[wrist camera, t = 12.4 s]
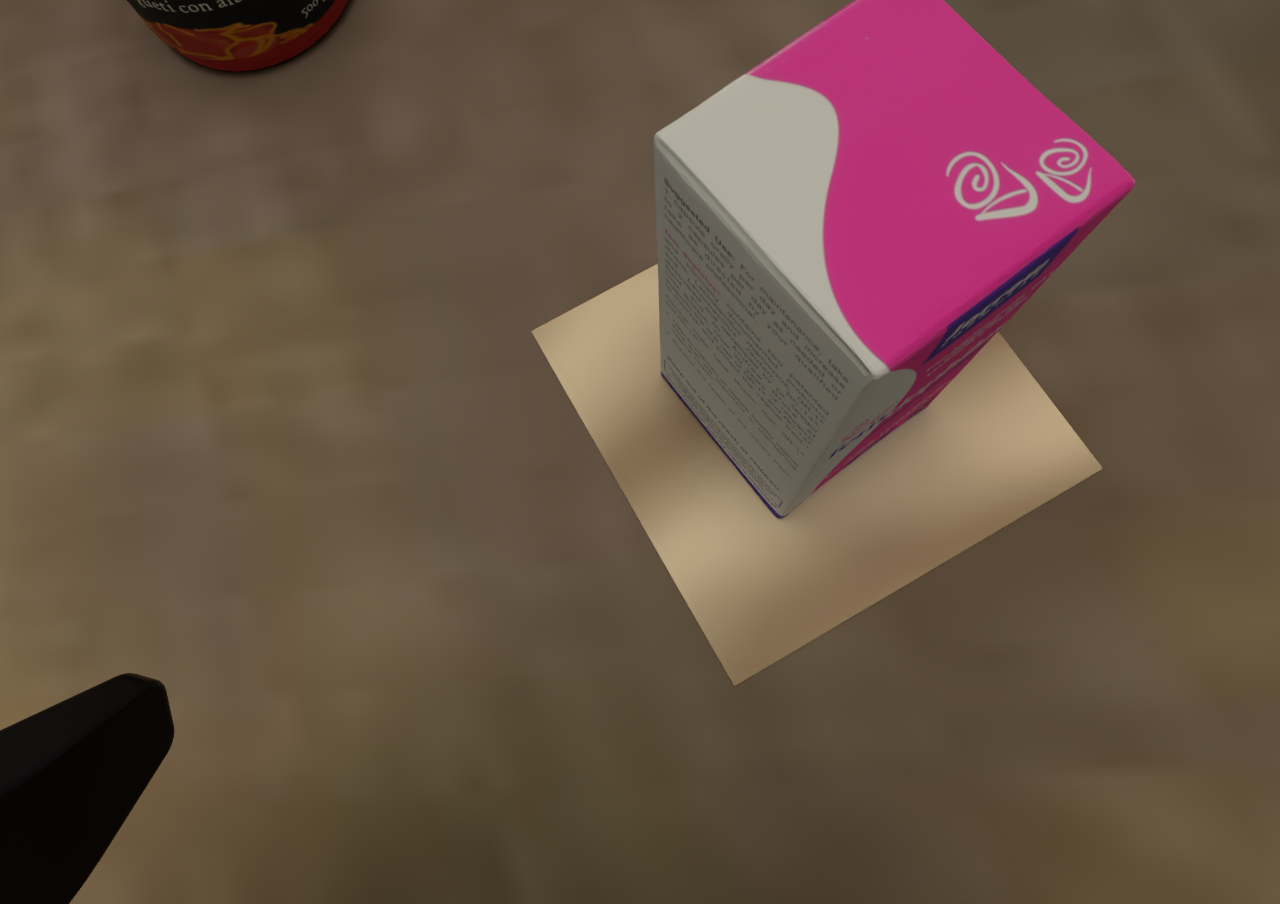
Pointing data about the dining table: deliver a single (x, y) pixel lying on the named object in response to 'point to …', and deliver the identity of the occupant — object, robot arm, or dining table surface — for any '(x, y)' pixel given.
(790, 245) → the supplement box
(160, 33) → the canned food
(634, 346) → the oak board
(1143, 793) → the dining table surface
